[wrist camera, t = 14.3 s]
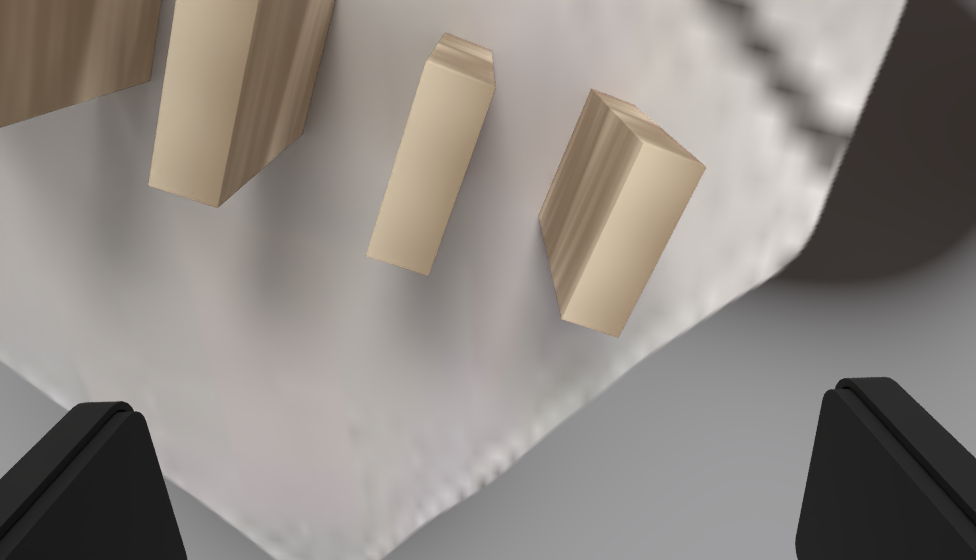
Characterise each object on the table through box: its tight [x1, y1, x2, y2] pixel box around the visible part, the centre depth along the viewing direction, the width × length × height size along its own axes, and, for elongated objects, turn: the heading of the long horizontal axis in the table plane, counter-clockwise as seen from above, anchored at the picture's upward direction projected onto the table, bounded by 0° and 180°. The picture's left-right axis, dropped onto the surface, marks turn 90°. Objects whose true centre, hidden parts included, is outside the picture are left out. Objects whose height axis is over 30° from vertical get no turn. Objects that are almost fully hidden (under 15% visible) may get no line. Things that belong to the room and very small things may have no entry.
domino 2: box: [148, 0, 335, 208], centre depth 22 cm, size 2×6×10 cm, turn 160°
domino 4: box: [539, 89, 706, 338], centre depth 24 cm, size 2×6×10 cm, turn 160°
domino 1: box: [0, 0, 161, 128], centre depth 21 cm, size 2×6×10 cm, turn 160°
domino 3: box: [366, 33, 496, 276], centre depth 23 cm, size 2×6×10 cm, turn 160°
